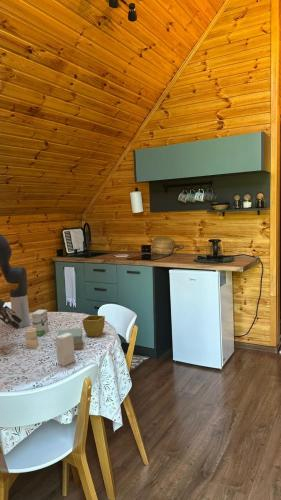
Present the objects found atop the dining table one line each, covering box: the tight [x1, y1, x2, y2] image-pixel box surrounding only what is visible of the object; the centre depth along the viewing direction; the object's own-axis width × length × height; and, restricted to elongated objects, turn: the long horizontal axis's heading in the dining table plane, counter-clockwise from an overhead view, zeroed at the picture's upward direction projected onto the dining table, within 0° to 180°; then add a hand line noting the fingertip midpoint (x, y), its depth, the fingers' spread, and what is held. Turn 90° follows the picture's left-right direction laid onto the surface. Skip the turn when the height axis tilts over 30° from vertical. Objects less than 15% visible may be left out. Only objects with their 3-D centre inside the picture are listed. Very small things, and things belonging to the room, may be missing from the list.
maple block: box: [24, 327, 39, 349], centre depth 180 cm, size 5×5×8 cm
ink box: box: [31, 309, 50, 337], centre depth 198 cm, size 9×5×12 cm, turn 168°
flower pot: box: [81, 314, 106, 338], centre depth 191 cm, size 9×9×9 cm
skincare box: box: [55, 333, 76, 367], centre depth 158 cm, size 6×4×12 cm
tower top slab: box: [56, 328, 83, 344], centre depth 177 cm, size 11×11×4 cm
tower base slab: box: [74, 341, 84, 351], centre depth 177 cm, size 11×11×4 cm
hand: (19, 324), depth 178 cm, fingers open, 8 cm apart
